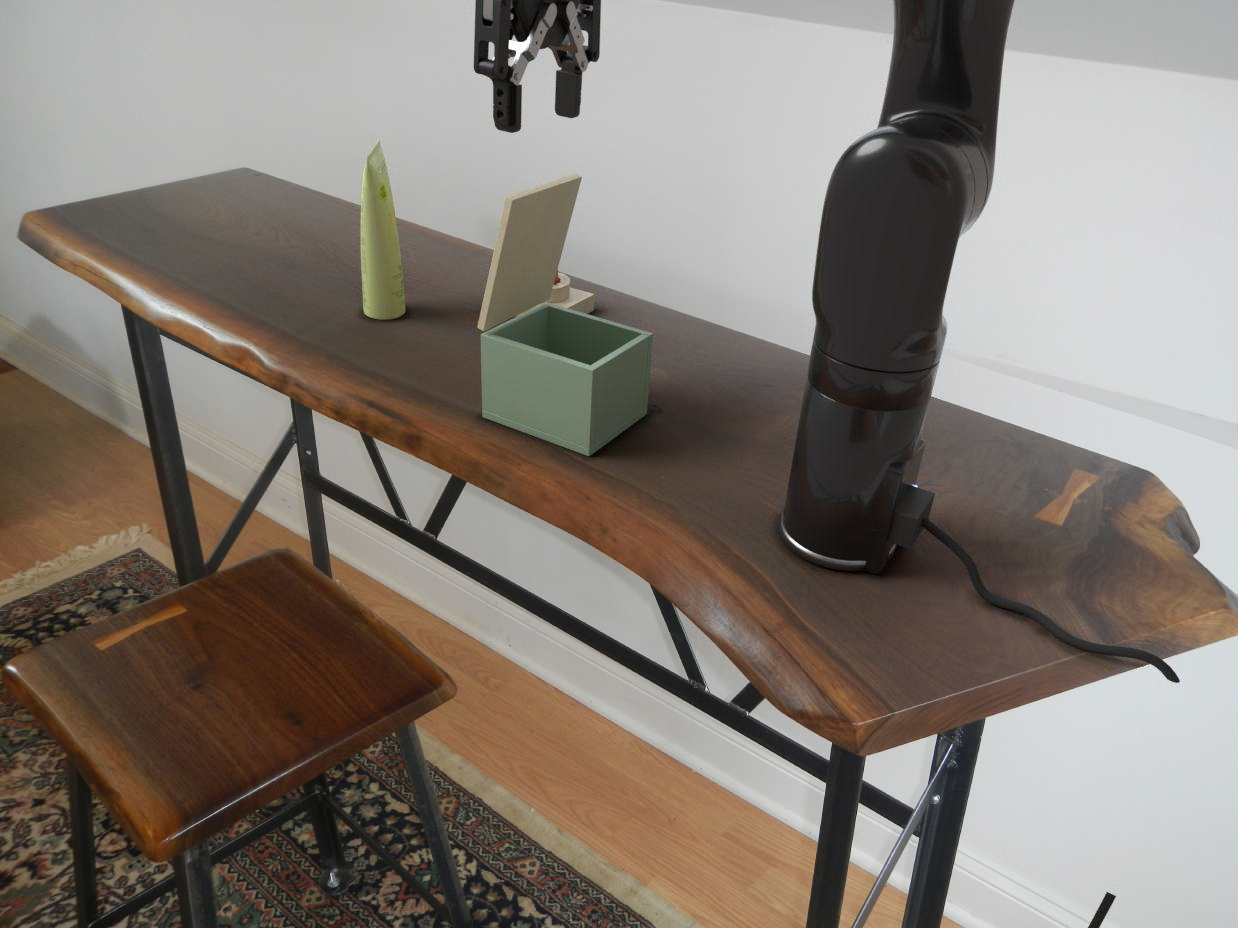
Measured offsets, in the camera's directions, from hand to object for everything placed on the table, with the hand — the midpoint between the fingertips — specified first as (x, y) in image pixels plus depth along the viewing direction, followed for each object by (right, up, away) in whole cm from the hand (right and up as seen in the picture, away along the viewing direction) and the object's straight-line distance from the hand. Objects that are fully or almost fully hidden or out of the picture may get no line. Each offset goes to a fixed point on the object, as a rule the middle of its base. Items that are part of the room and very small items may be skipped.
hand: (538, 123), depth 81 cm
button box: (-3, -10, +37) cm, 38 cm away
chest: (+2, -24, +14) cm, 28 cm away
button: (-2, -7, +35) cm, 36 cm away
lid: (-1, -9, +7) cm, 12 cm away
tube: (-21, -11, +34) cm, 41 cm away
